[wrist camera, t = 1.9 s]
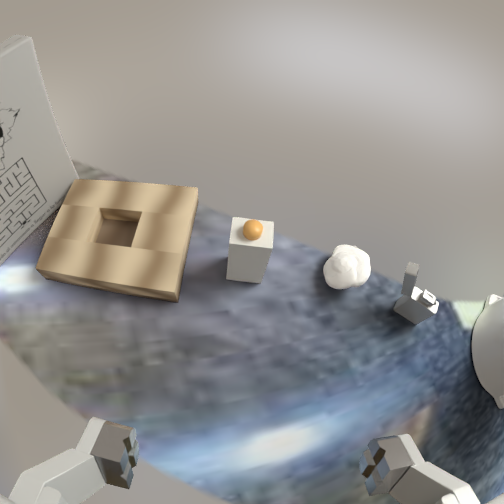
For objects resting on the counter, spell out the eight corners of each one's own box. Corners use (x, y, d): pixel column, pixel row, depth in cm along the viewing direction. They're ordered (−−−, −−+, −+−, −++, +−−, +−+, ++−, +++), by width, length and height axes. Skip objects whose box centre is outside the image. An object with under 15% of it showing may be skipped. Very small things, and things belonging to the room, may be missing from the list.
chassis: (198, 202, 40) (197, 187, 37) (178, 302, 33) (174, 292, 30) (81, 192, 39) (74, 179, 36) (46, 279, 32) (35, 268, 29)
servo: (262, 260, 36) (275, 217, 29) (260, 283, 35) (274, 244, 27) (229, 256, 36) (233, 212, 29) (226, 279, 35) (229, 238, 27)
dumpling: (352, 305, 35) (366, 293, 31) (314, 288, 35) (324, 274, 32) (364, 259, 38) (377, 244, 35) (329, 243, 39) (340, 226, 35)
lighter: (420, 314, 35) (457, 290, 28) (416, 325, 34) (454, 302, 27) (379, 287, 36) (411, 257, 29) (374, 298, 35) (407, 269, 29)
